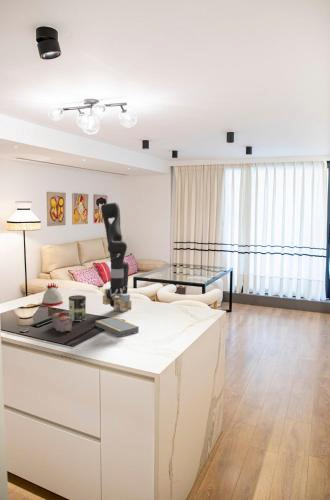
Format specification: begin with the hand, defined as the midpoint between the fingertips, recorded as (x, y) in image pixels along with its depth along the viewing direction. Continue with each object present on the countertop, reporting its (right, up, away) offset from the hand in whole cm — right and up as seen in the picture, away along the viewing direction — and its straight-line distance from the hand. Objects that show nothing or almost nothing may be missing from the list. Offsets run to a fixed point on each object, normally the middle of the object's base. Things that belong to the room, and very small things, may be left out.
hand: (116, 305), depth 210 cm
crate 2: (+6, +4, -6) cm, 9 cm away
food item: (-31, -14, -2) cm, 34 cm away
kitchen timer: (-53, -7, +54) cm, 76 cm away
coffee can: (-27, -11, +18) cm, 34 cm away
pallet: (0, -1, 0) cm, 1 cm away
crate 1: (-5, +5, +5) cm, 9 cm away
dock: (0, -14, +1) cm, 14 cm away
